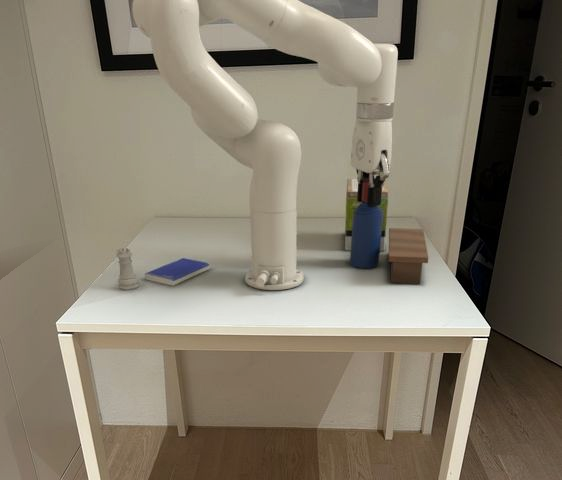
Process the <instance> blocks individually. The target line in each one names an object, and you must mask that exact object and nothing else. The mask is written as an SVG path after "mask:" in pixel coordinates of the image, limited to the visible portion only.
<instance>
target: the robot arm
mask: <svg viewBox="0 0 562 480" xmlns="http://www.w3.org/2000/svg"><path fill="white" fill-rule="evenodd" d="M131 10H132V11H131V12H132V17H133V20H134V22H135V25H136V27H137V28H138V29H139V31H140V32H141V33H142V34H143V35H144V36H146V37H147V38H149V39H150V44H151V49H152V50H151V51H152V54H153V58H154V62H155V65H156V67H157V69H158V71H159V74H160V75H161V77H162V79H163V81H164V82H165V83H166V84H167V85H168V87H169V88H170V89H171V90H172V91H173V92H174V93H175V94H176V95H177V96H178V97H179V98H181V100H182V101H184V103H186V104H187V105H188V106H189V108H190V114H191V117H192V119H193V121H194V123H195V125H196V126H197V128H199V129H200V131H201V132H203V134H204V135H206V136H207V137H208V138H209V139H210V140H212V141H213V142H214V143H215V144H216V145H217V146H218V147H220V148H221V149H222V150H223V151H224V152H226V153H227V154H228V155H229V156H230V157H232V158H233V159H234V160H235V161H236V162H238V163H239V164H241V165H243V166H245V167H246V168H249V169H252V175H251V180H250V187H249V217H250V219H249V220H250V244H251V245H250V247H251V250H250V251H251V270H250V271H248V272H247V273H246V274H245V277H244V279H245V283H246V284H247V285H248V286H250V287H252V288H255V289H259V290H265V291H283V290H289V289H293V288H296V287H298V286H300V285H301V284H302V283H303V282H304V280H305V279H304V278H305V277H304V276H305V275H304V273H303V272H302V271H301V270H299V269H297V234H298V233H297V227H298V226H297V223H298V222H297V220H298V219H297V218H298V217H297V214H298V212H297V208H298V207H297V206H298V205H297V200H298V199H297V197H298V196H297V195H298V194H297V193H298V180H299V179H298V178H299V173H300V166H301V161H302V146H301V142H300V139H299V137H298V134H296V133H295V131H294V130H293V129H292V128H291V127H289V126H287V125H286V124H283V123H282V122H281V123H280V122H277V121H272V120H265V119H262V118H260V117H259V115H258V106H257V104H256V102H255V100H254V99H253V97H252V95H251V94H250V93H249V92H248V91H247V90H246V89H245V88H244V87H243V86H242V85H241V84H240V83H238V82H237V81H236V80H235V79H234V78H233V77H232V76H231V75H229V73H227V71H226V70H225V69H224V68H222V66H220V65H219V64H218V62H217V61H216V60H215V59H214V58H213V57H212V56H211V55H210V54H209V52H208V51H207V50H206V48H205V46H204V44H203V42H202V39H201V33H200V28H201V27H203V26H205V25H208V24H211V23H213V22H215V21H218V20H225V19H226V20H228V21H230V22H232V23H233V24H234V25H236V26H238V27H239V28H241V29H242V30H244V31H246V32H248V33H249V34H251V35H253V36H254V37H256V38H257V39H259V40H260V41H262V42H263V43H265V44H266V45H268V46H270V47H271V48H273V49H275V50H276V51H278V52H282V53H284V54H287V55H291V56H296V57H300V58H304V59H308V60H311V61H314V62H316V63H317V70H318V74H319V76H320V77H321V79H322V80H323V81H324V82H326V84H328V85H330V86H334V87H342V88H343V87H349V88H357V94H356V113H355V117H356V118H355V121H354V127H353V134H352V140H351V141H352V142H351V151H350V165H351V167H352V168H353V169H355V170H356V174H357V178H356V179H357V182H358V194H357V201H358V202H363V201H362V186H363V183H364V182H370V187H368V191H367V206H378V205H380V204H381V195H382V187H383V185H384V181H385V182H386V179H388V178H389V177H390V168H391V164H392V155H393V151H392V149H393V126H392V125H393V124H392V122H393V120H394V109H395V108H394V107H395V94H396V81H397V70H398V56H399V51H398V48H397V46H396V45H395V44H393V43H373V42H372V41H371V40H370V39H369V38H367V37H366V36H364V35H362V33H360V32H359V31H357V30H356V29H354V28H353V27H352V26H350V25H349V24H347V23H346V22H343V21H341V20H340V19H337V18H335V17H333V16H331V15H329V14H327V13H324V12H322V11H321V10H319V9H317V8H315V7H313V6H310V5H309V4H306V3H304V2H302V1H300V0H133V1H132V7H131Z"/></svg>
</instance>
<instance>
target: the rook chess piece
mask: <svg viewBox="0 0 562 480" xmlns="http://www.w3.org/2000/svg"><path fill="white" fill-rule="evenodd" d="M116 252H117V253H116V254H115V256H116V257H117V258H118V264H119V276H118V278H117V283H118V284H117V287H118V288H119V289H120V290H123V291H131V290H135V289H137V288H138V287H139V286H140V282H139V278H138V276H137V274H136V273H135V271H134V268H133V260H132V255H133V253H132V252H131V249H130V248H128V247H127V248H124V247H123V248H121V249H120V248H118V249H117V251H116Z"/></svg>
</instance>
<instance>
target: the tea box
mask: <svg viewBox="0 0 562 480" xmlns="http://www.w3.org/2000/svg"><path fill="white" fill-rule="evenodd" d="M357 194H358V182H357V178H347V180H346V193H345V221H344V222H345V225H344V226H345V227H344V240H345V241H344V250H345V251H347V252H348V251H349V252H351V240H352V226H353V212H354V210H355V208H357V206H359V204H361V203H362V202H358V201H357ZM388 204H389V190H388V187H387V183H386V180H385V181H384V185H383V187H382V195H381V204H380V205H379V207H381V209H382V210H383V222H382V233H381V243H380V252H383V251H385V247H386V234H387V217H388V207H389V206H388Z"/></svg>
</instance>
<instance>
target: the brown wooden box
mask: <svg viewBox="0 0 562 480" xmlns="http://www.w3.org/2000/svg"><path fill="white" fill-rule="evenodd" d="M388 262H389V263H390V268H391V269H390V273H391V275H390V276H391V277H390V279H391V284H402V285H403V284H405V285H406V284H407V285H421V280H422V270H423V264H428V263H429V253H428V249H427V242H426V237H425V231H424V228H406V227H405V228H404V227H403V228H401V227H400V228H399V227H389V228H388Z"/></svg>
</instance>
